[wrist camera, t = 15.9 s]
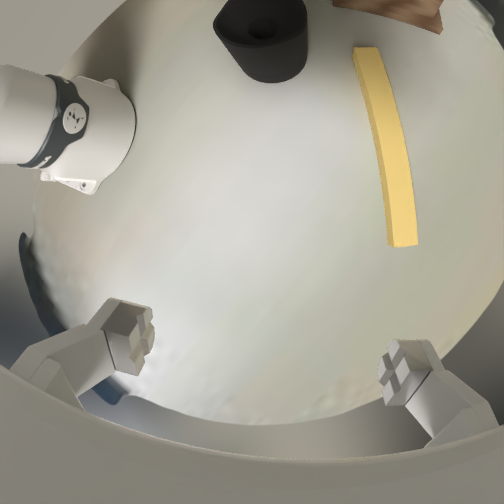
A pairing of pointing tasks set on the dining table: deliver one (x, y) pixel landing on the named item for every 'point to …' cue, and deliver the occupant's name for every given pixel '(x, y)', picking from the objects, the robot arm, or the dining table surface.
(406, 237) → the mustard rod
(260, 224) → the dining table surface
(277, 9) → the pen holder
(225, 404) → the dining table surface
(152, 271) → the dining table surface
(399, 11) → the walnut pedestal
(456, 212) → the dining table surface
